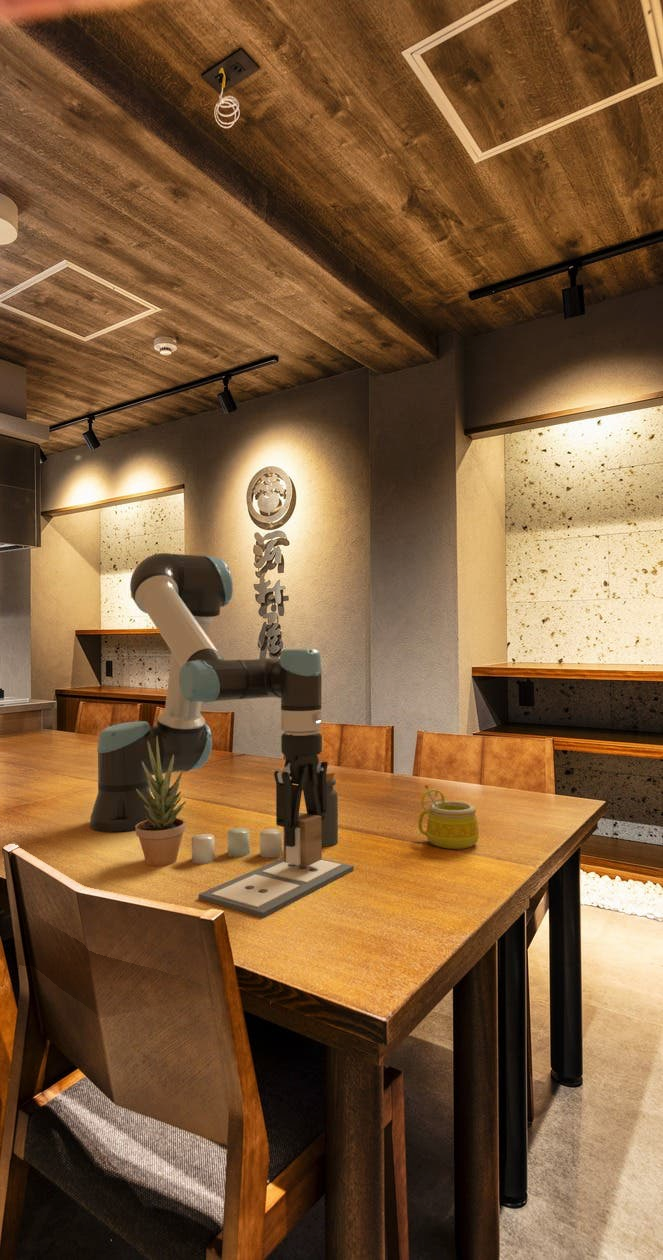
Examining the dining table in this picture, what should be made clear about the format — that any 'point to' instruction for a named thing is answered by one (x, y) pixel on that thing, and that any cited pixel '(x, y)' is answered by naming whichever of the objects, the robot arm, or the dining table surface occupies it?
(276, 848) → the short white cylinder
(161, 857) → the potted plant
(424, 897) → the dining table surface
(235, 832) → the grey-green upright cylinder
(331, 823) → the bottle
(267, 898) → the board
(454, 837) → the mug
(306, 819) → the block
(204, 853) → the pale grey cylinder
